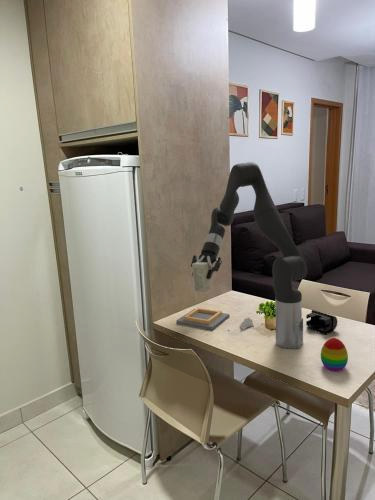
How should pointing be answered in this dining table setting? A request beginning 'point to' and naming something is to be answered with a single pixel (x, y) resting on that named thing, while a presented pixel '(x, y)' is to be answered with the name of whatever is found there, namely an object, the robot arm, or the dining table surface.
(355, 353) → the dining table surface
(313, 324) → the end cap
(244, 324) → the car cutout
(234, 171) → the robot arm
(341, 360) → the decorative egg
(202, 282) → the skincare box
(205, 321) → the grey wood framed tray
